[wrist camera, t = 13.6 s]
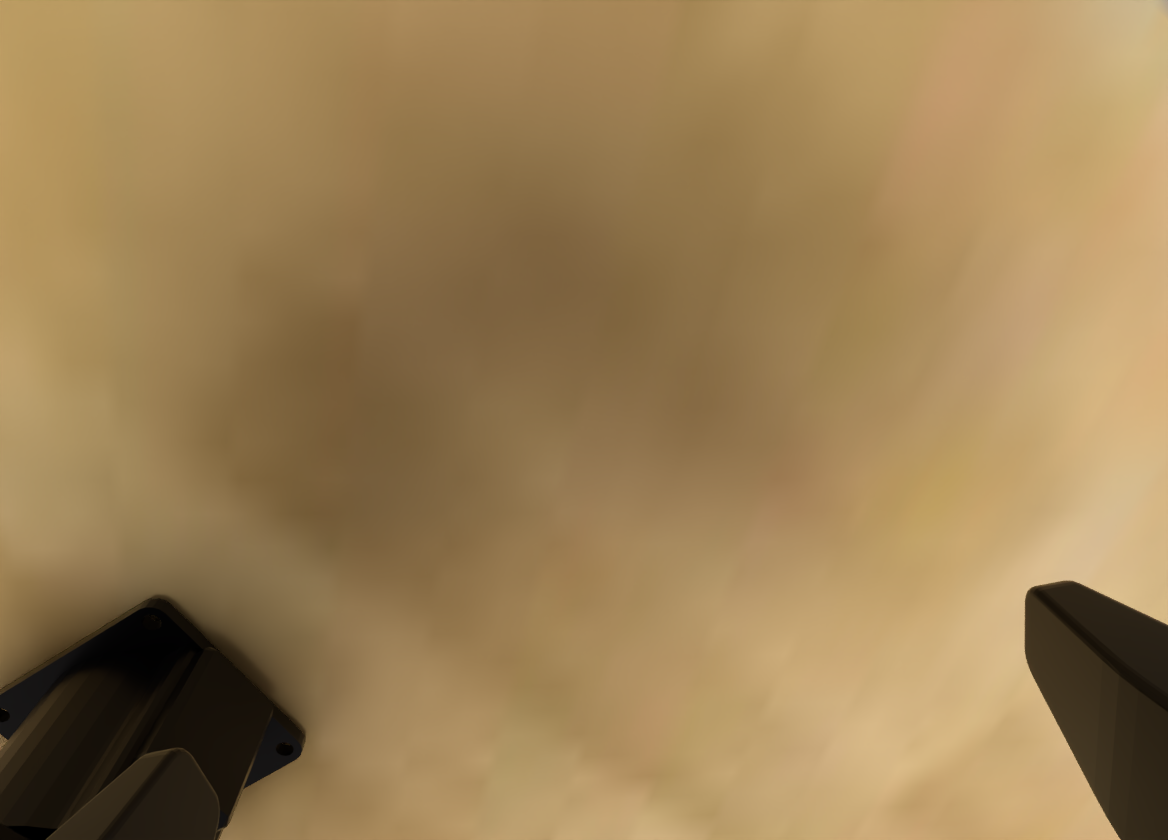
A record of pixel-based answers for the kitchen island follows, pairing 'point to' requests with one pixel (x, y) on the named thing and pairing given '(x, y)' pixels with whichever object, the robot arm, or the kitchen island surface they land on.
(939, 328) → the kitchen island surface
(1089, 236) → the kitchen island surface
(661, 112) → the kitchen island surface
